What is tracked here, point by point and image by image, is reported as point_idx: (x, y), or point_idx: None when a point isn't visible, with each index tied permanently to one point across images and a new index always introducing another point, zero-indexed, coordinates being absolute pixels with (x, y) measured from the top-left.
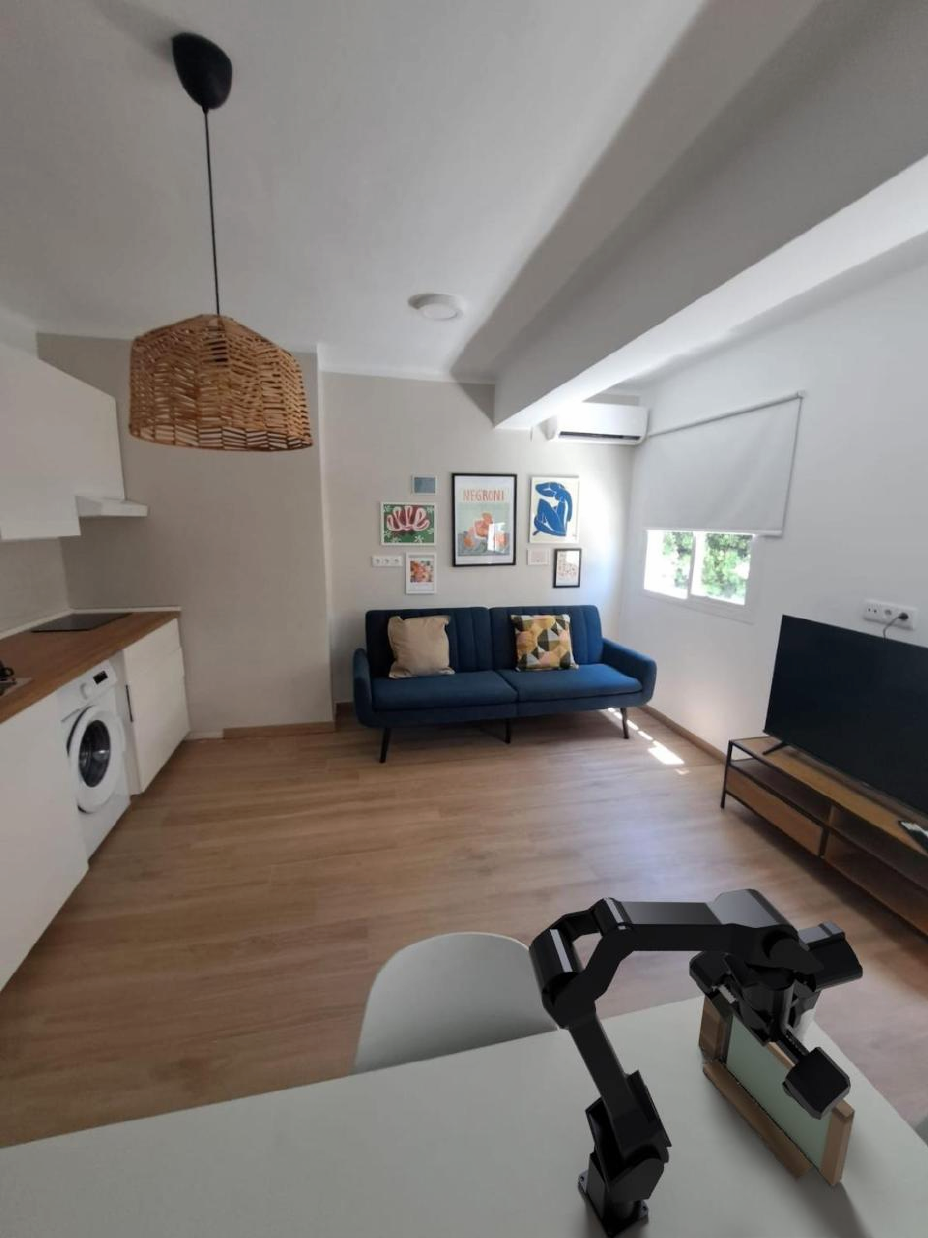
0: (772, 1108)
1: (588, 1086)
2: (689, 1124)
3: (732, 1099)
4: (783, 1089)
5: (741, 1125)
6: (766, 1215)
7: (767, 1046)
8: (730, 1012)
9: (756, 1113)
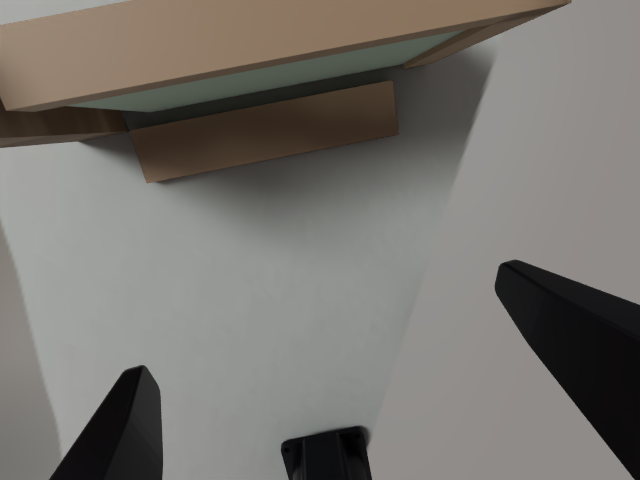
0: (281, 84)
1: (163, 438)
2: (258, 288)
3: (234, 165)
4: (550, 369)
5: (280, 175)
6: (416, 243)
7: (212, 75)
8: (130, 450)
9: (274, 128)
